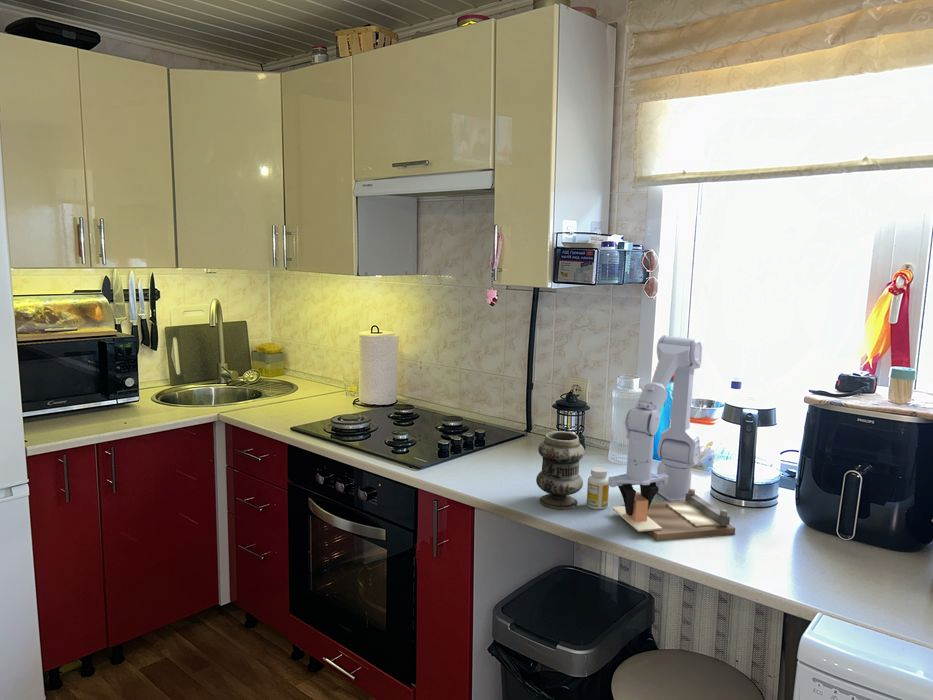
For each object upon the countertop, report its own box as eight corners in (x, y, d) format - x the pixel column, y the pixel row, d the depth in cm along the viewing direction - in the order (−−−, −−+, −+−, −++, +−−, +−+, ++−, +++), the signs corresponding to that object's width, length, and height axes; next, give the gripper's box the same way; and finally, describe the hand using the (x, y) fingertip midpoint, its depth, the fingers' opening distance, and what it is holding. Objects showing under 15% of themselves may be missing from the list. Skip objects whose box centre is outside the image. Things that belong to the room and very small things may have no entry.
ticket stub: (611, 508, 170) (613, 487, 169) (634, 506, 171) (635, 486, 170) (638, 531, 156) (639, 509, 155) (662, 529, 158) (663, 507, 157)
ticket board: (621, 510, 173) (623, 491, 172) (693, 505, 177) (694, 486, 176) (657, 540, 155) (658, 519, 155) (734, 534, 160) (736, 513, 159)
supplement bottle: (605, 502, 178) (607, 466, 177) (610, 510, 173) (612, 473, 171) (584, 501, 178) (586, 466, 177) (588, 509, 173) (590, 472, 171)
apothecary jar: (570, 515, 169) (573, 444, 166) (527, 504, 175) (529, 436, 173) (589, 500, 179) (592, 433, 176) (547, 490, 185) (550, 426, 183)
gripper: (618, 465, 156) (615, 522, 158) (676, 462, 159) (672, 517, 161) (605, 456, 163) (602, 510, 165) (661, 453, 166) (657, 506, 168)
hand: (636, 513), depth 163 cm, fingers open, 3 cm apart
